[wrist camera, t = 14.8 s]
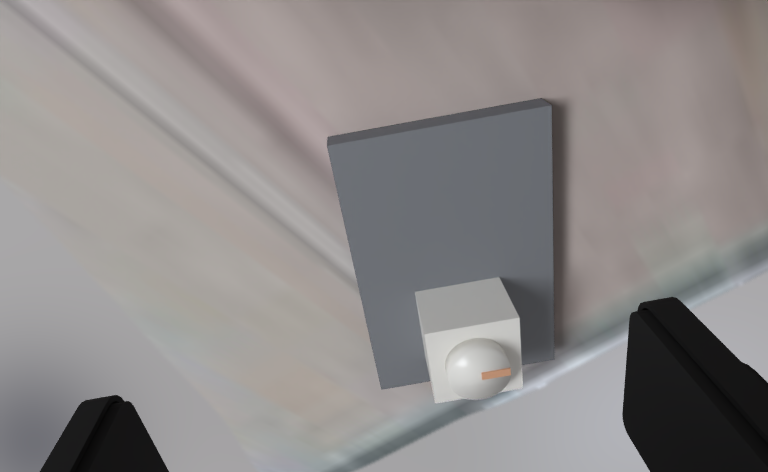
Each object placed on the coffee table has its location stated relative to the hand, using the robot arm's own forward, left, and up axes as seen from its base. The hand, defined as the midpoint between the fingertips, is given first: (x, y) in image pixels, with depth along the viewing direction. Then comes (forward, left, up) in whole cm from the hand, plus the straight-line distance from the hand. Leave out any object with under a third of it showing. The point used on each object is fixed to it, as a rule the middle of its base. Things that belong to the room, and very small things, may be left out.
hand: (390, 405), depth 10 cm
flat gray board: (+5, -14, -28) cm, 32 cm away
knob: (+5, -19, -26) cm, 33 cm away
